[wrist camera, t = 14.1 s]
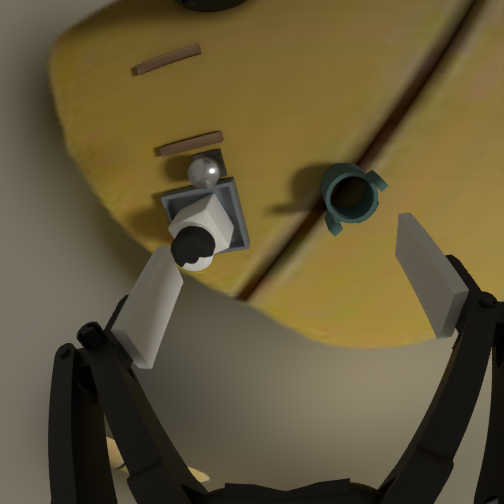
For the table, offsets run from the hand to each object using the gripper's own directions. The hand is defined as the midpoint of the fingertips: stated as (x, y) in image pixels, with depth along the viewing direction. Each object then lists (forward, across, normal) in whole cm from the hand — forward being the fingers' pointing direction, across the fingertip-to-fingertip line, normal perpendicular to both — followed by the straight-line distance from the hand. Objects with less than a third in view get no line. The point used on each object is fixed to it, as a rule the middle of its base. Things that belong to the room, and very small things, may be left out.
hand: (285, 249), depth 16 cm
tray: (+31, -14, -11) cm, 36 cm away
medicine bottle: (+30, -14, -11) cm, 35 cm away
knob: (+31, -11, -2) cm, 33 cm away
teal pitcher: (+31, +10, -10) cm, 34 cm away
